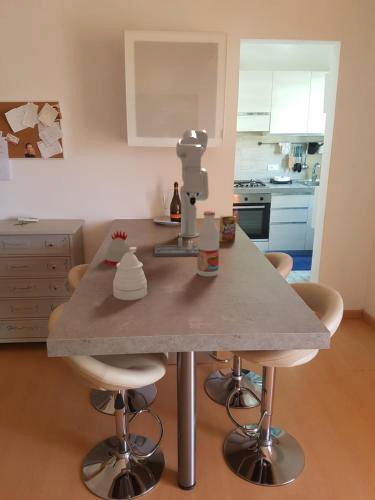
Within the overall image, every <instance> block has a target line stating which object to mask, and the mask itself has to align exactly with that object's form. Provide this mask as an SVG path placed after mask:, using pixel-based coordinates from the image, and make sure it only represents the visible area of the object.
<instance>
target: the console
mask: <svg viewBox="0 0 375 500" xmlns="http://www.w3.org/2000/svg"><path fill="white" fill-rule="evenodd" d="M194 256H195V257H198V244H195V243H194V244H193V245H192V250H188V244H182V247H179V246H178V244H159V243H158V244H155V245H154V257H194Z"/></svg>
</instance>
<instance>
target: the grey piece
mask: <svg viewBox="0 0 375 500" xmlns="http://www.w3.org/2000/svg"><path fill="white" fill-rule="evenodd" d="M125 233H126V232H125V231H123V232H122V231H121V230H120V231H118V230H117V231H116V232H114V233H113V235H114V236H113V235H110V237H111V239H112V241H110V243H109V245H108V246H107V249H106V252H105V263H106V264H109V265H111V264H112V265H113V266H116V265H117V264H118V263H119V262H120V261H121V259H122V258H123V256H124V255H125V254H126V253H127V252H131V251H130V247H132V246H131V244H130V243H129V242H128V241H127V237H128V234H125Z"/></svg>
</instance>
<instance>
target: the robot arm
mask: <svg viewBox="0 0 375 500" xmlns="http://www.w3.org/2000/svg"><path fill="white" fill-rule="evenodd" d="M208 137H209V135H208V133H207V131H206V130H203V129H188V130H186V131H184V132H183V134H182V139H179V140H178V141H177V143H176V148H175V149H176V151H175V152H176V157H178V159H180V162H181V179H182V180H181V181H182V182H183V185H182V186H181V187H180V188H179V196H180V216H181V217H180V232H178V236H179V237H181V238H186V239H188V238H197V237H199V234H198V232H197V212H198V211H197V209H198V208H197V205H196V202H197V201H202V202H203V201H207V200H208V199H209V196H210V195H209V193H210V192H209V191H210V190H209V175H208V173H209V172H208V171H207V170H206V169H205V168H202V165H201V164H202V157H203V156H204V153H205V152H206V150H207V145H208V141H209V139H208Z"/></svg>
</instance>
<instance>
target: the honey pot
mask: <svg viewBox="0 0 375 500" xmlns="http://www.w3.org/2000/svg"><path fill="white" fill-rule="evenodd" d="M130 251H131V252H127V253H126V254H125V255H124V256H123V258H122V259H121V261H120V262H119V263H118V264H117V265H115V267H116V268H117V270H116V271H115V276H114V279H113V281H112V285H113V289H112V290H113V296H114V298H116V299H118V300H124V301H135V300H139V299H142V298H144V297H146V296H147V294H148V284H147V283H148V281H147V278H146V276H145V272H144V270H143V263H142V262H141V261H139V260H138V258H137V256H136V255H135V253H136V251H137V247H136V246H131V247H130Z"/></svg>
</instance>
